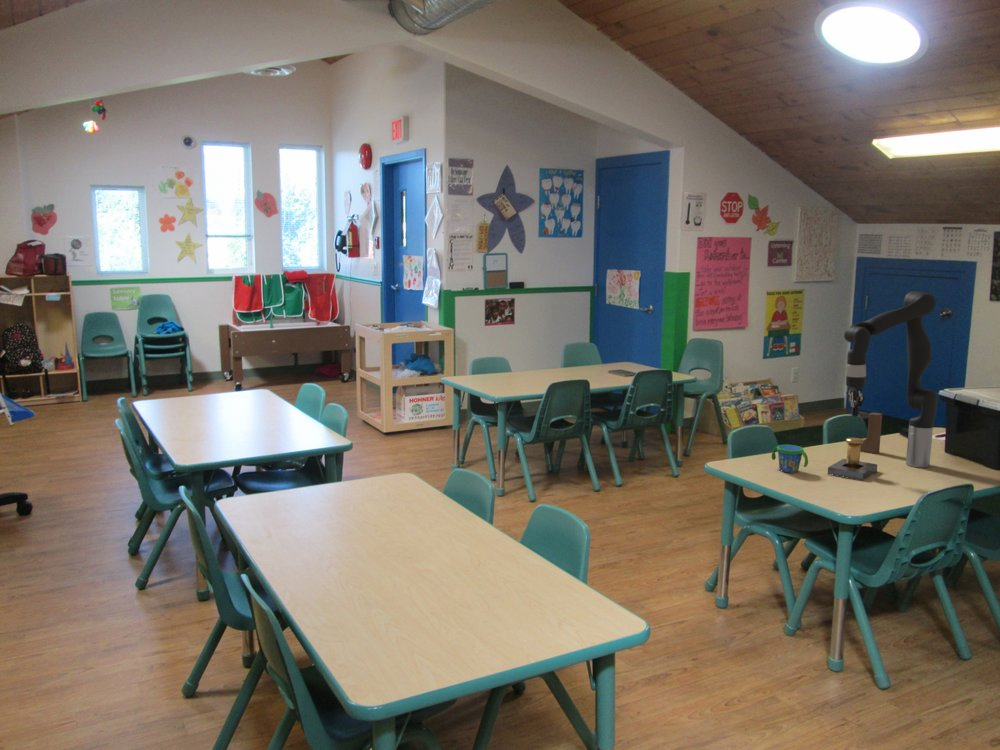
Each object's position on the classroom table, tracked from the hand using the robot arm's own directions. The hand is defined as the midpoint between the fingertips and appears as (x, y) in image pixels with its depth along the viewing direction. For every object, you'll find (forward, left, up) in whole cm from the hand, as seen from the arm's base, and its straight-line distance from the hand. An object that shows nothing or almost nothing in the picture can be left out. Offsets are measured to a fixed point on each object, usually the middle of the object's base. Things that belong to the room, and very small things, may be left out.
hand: (854, 416), depth 350 cm
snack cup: (+16, -20, -24) cm, 35 cm away
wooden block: (-40, -6, -24) cm, 47 cm away
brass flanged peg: (+1, +1, -24) cm, 24 cm away
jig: (+1, +1, -24) cm, 24 cm away
